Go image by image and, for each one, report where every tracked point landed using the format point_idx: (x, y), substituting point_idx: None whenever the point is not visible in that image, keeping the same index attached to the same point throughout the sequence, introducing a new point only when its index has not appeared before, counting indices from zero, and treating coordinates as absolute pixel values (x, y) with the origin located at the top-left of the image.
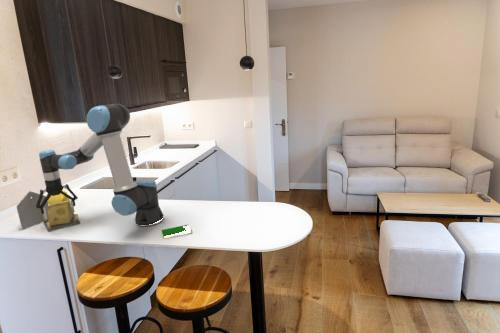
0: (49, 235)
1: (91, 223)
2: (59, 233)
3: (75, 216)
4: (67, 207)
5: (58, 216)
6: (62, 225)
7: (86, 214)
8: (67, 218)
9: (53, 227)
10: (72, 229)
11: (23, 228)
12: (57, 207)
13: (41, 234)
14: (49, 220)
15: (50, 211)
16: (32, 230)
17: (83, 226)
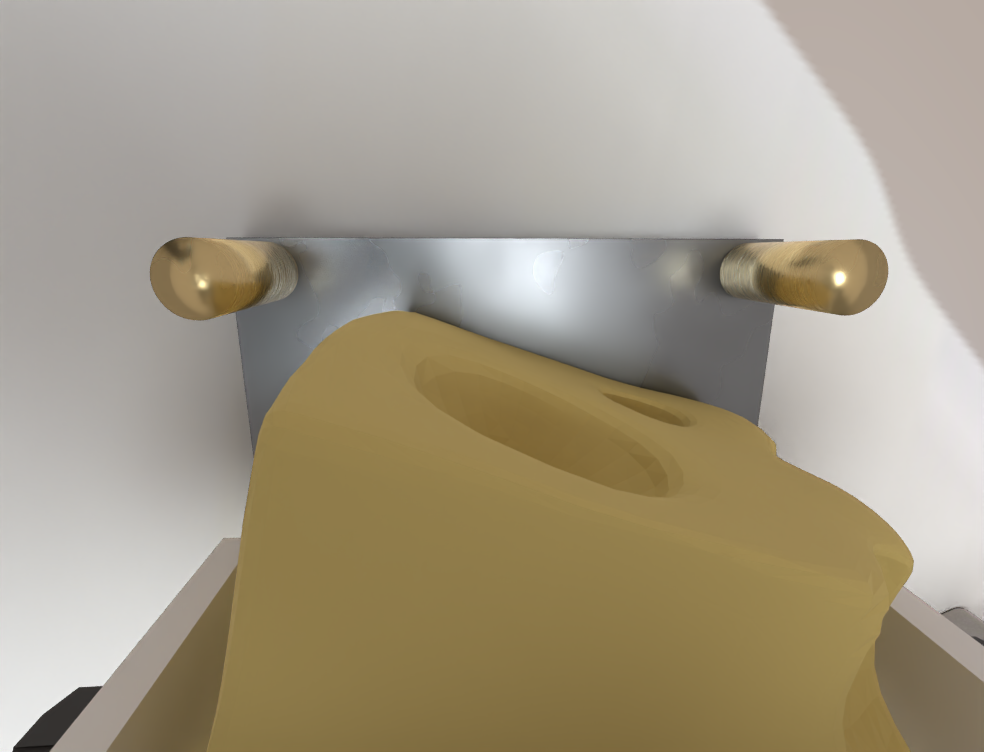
0: (788, 59)
1: (38, 48)
2: (640, 8)
3: (237, 253)
4: (288, 381)
5: (607, 404)
6: (540, 267)
7: (108, 588)
8: (424, 318)
9: (682, 293)
10: (412, 20)
11: (965, 619)
12: (711, 548)
13: (859, 222)
14: (763, 434)
15: (874, 545)
16: (891, 492)
17: (204, 6)
